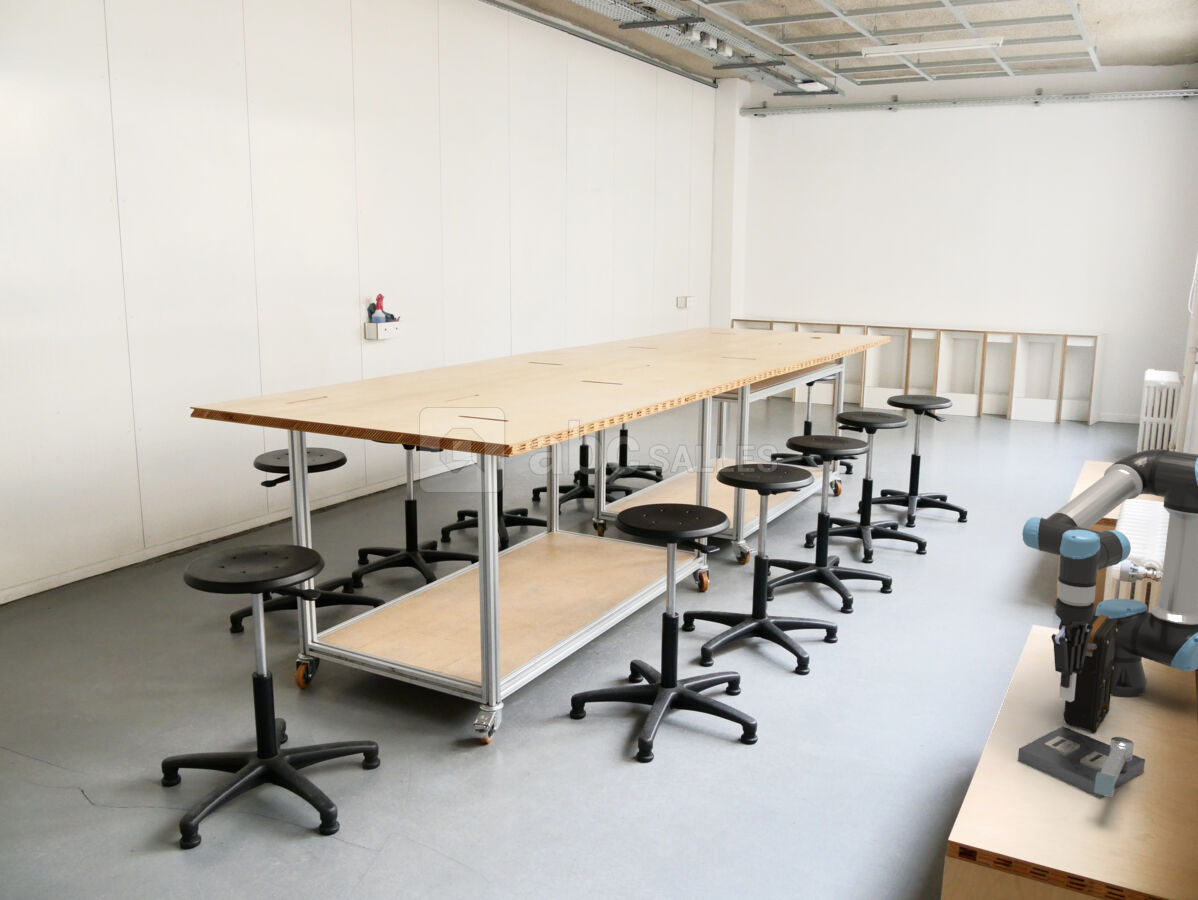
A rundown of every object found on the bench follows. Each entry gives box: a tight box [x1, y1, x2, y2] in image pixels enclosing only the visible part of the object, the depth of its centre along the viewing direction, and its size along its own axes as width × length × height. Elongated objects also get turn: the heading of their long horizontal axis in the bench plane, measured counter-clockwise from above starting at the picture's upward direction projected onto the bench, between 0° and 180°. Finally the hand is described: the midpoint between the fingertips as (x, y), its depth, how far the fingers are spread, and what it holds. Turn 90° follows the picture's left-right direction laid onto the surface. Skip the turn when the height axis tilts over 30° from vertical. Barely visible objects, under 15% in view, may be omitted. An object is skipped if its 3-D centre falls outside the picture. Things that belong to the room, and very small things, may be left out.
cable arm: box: [1094, 736, 1135, 798], centre depth 200 cm, size 4×21×4 cm, turn 142°
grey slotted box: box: [1017, 725, 1146, 799], centre depth 214 cm, size 18×20×6 cm
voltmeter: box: [1062, 614, 1118, 733], centre depth 233 cm, size 16×9×25 cm, turn 141°
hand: (1066, 698), depth 215 cm, fingers closed
